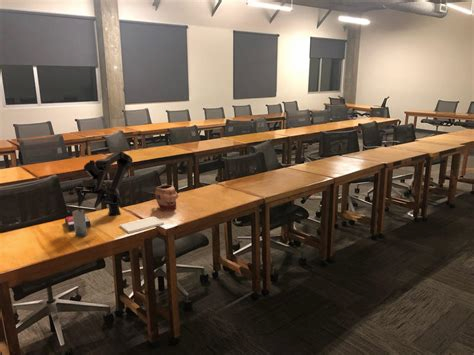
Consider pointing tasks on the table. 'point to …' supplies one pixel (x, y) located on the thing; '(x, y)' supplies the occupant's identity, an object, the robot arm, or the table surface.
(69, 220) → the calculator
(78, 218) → the tin
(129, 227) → the tile
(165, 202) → the decorative planter
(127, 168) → the robot arm
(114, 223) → the table surface
